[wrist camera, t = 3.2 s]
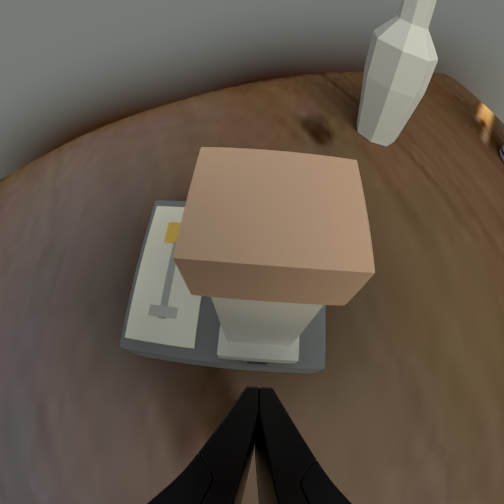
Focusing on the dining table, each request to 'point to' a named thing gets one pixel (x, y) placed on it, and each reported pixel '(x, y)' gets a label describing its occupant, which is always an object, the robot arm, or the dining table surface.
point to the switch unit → (191, 310)
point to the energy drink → (502, 153)
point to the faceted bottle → (396, 72)
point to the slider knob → (272, 244)
